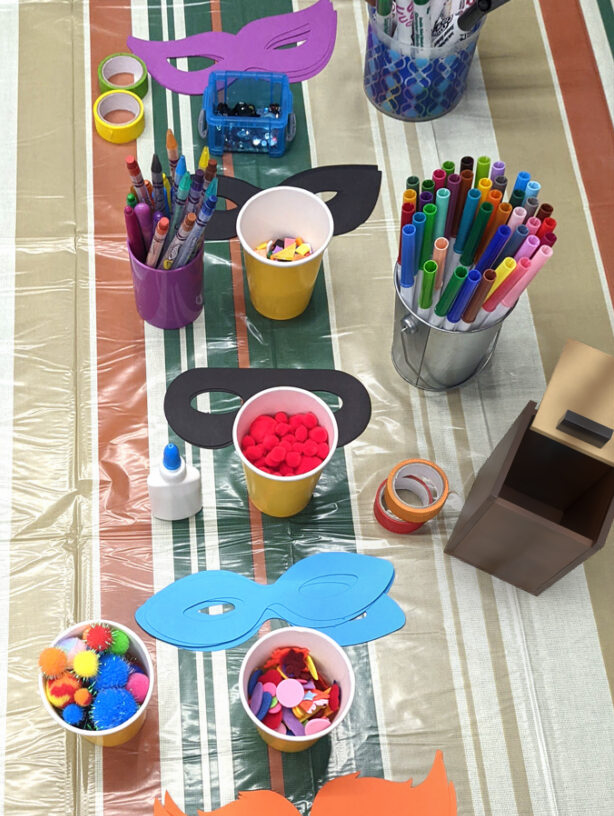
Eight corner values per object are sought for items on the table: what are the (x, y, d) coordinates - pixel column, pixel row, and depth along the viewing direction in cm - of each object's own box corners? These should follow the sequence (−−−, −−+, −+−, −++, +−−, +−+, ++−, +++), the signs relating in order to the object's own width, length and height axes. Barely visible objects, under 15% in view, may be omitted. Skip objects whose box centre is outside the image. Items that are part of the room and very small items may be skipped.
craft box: (569, 511, 109) (639, 448, 91) (536, 596, 104) (603, 547, 87) (479, 470, 110) (530, 399, 92) (443, 552, 106) (489, 494, 88)
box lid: (649, 377, 95) (664, 362, 92) (616, 468, 91) (630, 455, 88) (566, 341, 97) (577, 324, 94) (529, 429, 92) (540, 415, 89)
